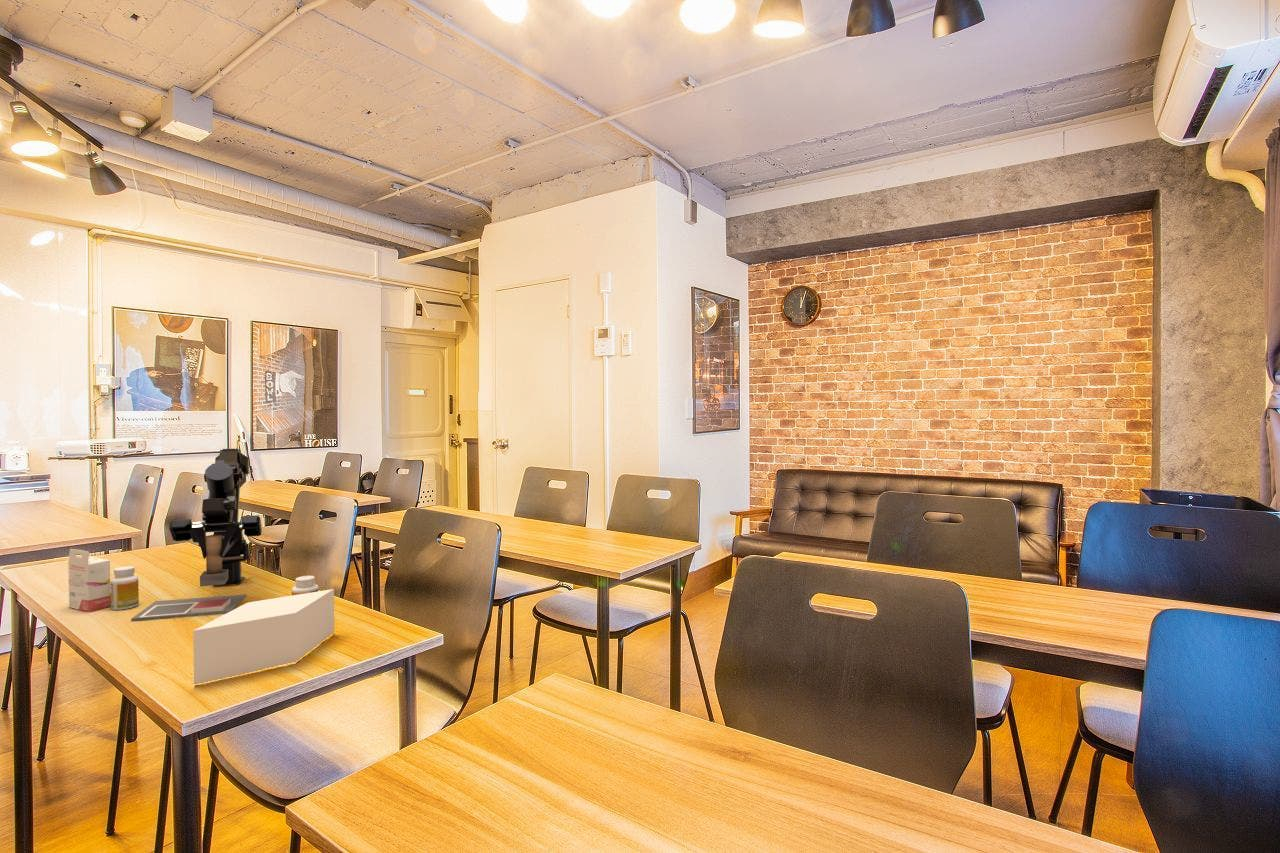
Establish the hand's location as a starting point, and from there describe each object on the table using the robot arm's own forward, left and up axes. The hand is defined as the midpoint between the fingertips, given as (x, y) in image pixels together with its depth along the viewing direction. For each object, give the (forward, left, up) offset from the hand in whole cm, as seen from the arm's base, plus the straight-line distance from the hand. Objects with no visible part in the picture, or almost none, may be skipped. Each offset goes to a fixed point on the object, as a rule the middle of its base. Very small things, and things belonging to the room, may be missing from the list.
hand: (213, 557), depth 153 cm
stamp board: (-5, -6, -13) cm, 15 cm away
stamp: (-1, 0, -7) cm, 7 cm away
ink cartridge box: (-13, -30, -14) cm, 35 cm away
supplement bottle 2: (+14, +22, -14) cm, 30 cm away
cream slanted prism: (+36, +20, -14) cm, 43 cm away
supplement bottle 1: (-11, -22, -14) cm, 28 cm away
